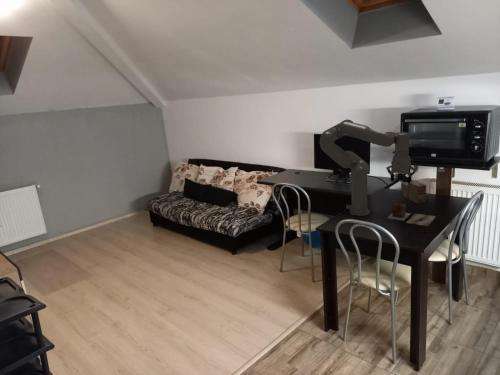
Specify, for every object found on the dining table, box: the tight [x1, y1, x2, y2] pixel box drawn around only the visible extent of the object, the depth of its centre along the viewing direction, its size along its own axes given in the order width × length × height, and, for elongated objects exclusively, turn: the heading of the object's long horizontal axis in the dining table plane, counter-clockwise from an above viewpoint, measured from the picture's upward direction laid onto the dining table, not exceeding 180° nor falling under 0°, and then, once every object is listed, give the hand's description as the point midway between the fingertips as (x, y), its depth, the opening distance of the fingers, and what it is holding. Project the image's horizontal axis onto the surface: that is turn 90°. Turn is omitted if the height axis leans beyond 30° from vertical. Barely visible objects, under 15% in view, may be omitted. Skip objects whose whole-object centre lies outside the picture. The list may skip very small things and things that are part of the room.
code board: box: [405, 213, 436, 227], centre depth 225 cm, size 12×18×1 cm, turn 142°
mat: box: [386, 212, 411, 221], centre depth 234 cm, size 10×14×1 cm
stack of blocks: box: [400, 180, 427, 204], centre depth 262 cm, size 21×6×12 cm, turn 7°
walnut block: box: [391, 202, 407, 218], centre depth 233 cm, size 6×6×7 cm
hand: (400, 181), depth 229 cm, fingers open, 9 cm apart
